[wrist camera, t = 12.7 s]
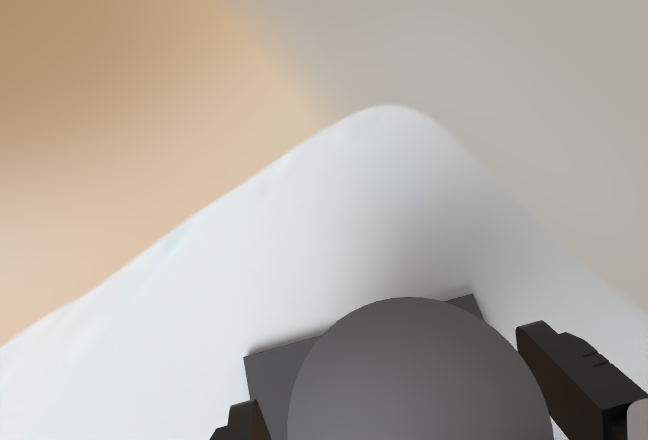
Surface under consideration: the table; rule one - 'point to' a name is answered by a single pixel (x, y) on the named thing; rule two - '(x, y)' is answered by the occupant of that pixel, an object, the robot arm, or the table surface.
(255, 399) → the robot arm
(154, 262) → the table surface
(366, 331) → the brown canister
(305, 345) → the black mat
